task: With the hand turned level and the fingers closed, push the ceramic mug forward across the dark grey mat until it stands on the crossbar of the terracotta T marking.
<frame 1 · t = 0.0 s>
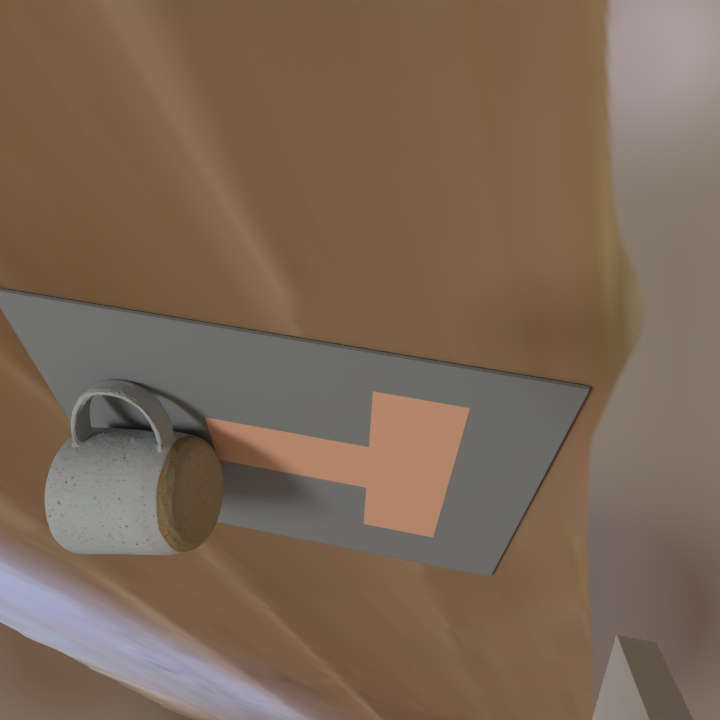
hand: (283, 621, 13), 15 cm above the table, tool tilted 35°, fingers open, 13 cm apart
ceramic mug: (153, 425, 39), resting on t mat
t mat: (290, 458, 39), on the table
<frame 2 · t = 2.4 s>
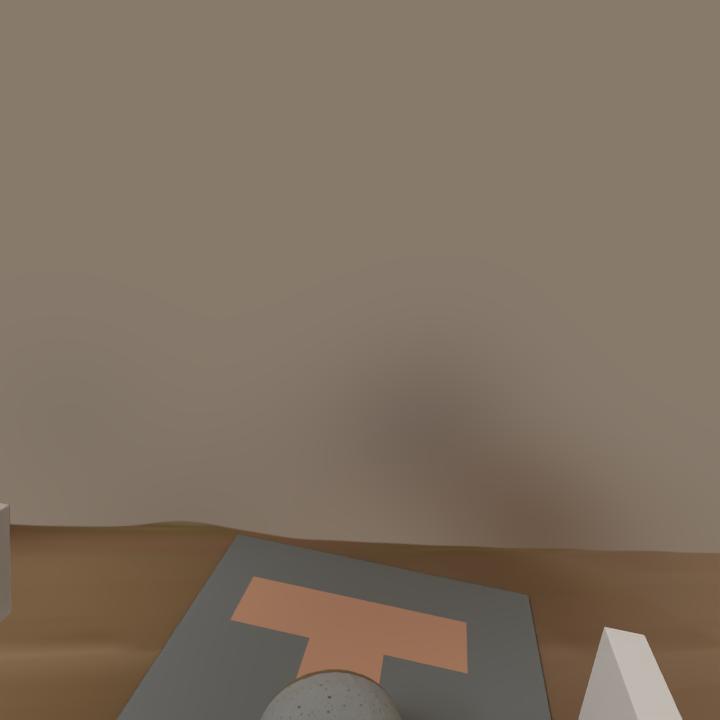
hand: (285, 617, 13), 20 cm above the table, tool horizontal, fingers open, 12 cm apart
t mat: (348, 712, 36), on the table
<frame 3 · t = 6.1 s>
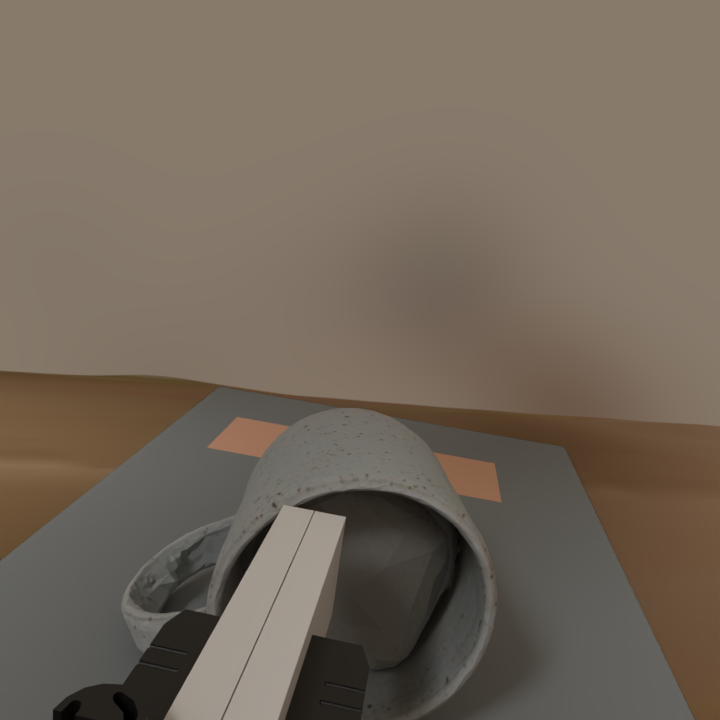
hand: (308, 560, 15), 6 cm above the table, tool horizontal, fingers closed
ceramic mug: (294, 646, 20), resting on t mat
t mat: (354, 528, 28), on the table
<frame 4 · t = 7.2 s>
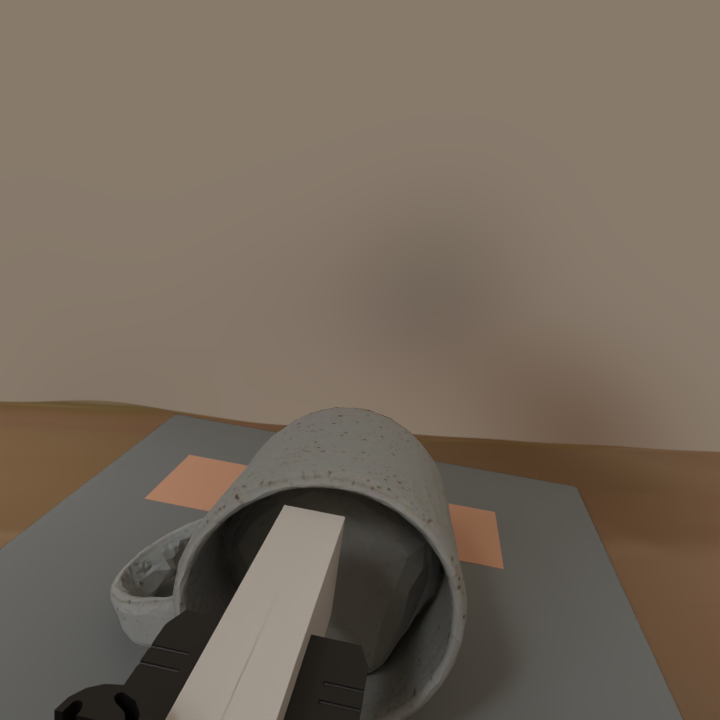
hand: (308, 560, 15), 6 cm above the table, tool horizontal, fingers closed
ceramic mug: (279, 643, 20), resting on t mat, touching gripper
t mat: (317, 615, 22), on the table
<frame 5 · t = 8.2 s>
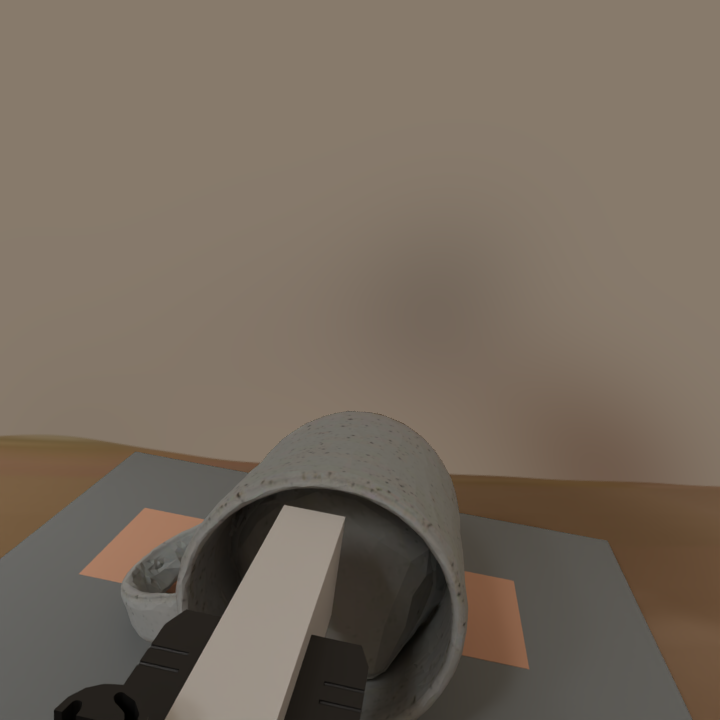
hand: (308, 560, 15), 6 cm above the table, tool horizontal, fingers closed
ceramic mug: (285, 645, 20), resting on t mat, touching gripper
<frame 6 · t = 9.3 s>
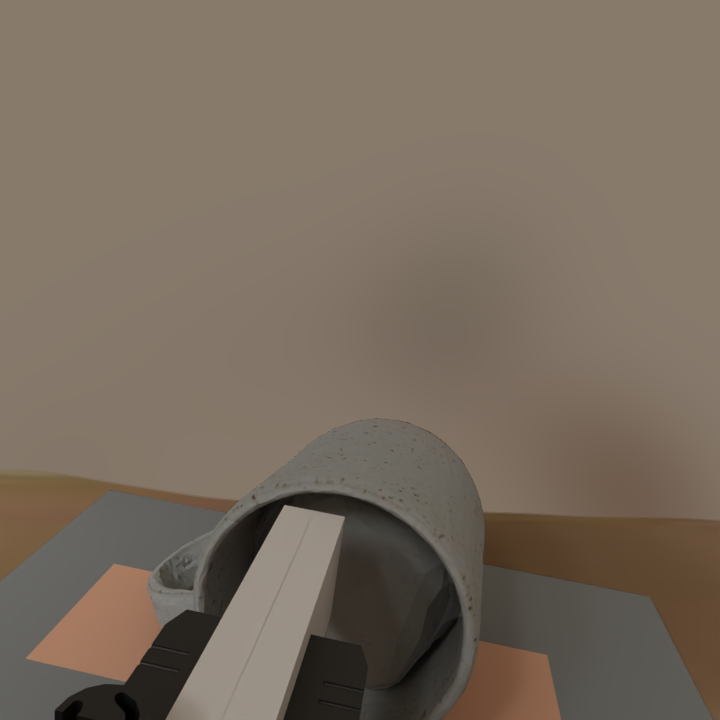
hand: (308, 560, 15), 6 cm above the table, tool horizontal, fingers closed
ceramic mug: (305, 649, 20), resting on t mat
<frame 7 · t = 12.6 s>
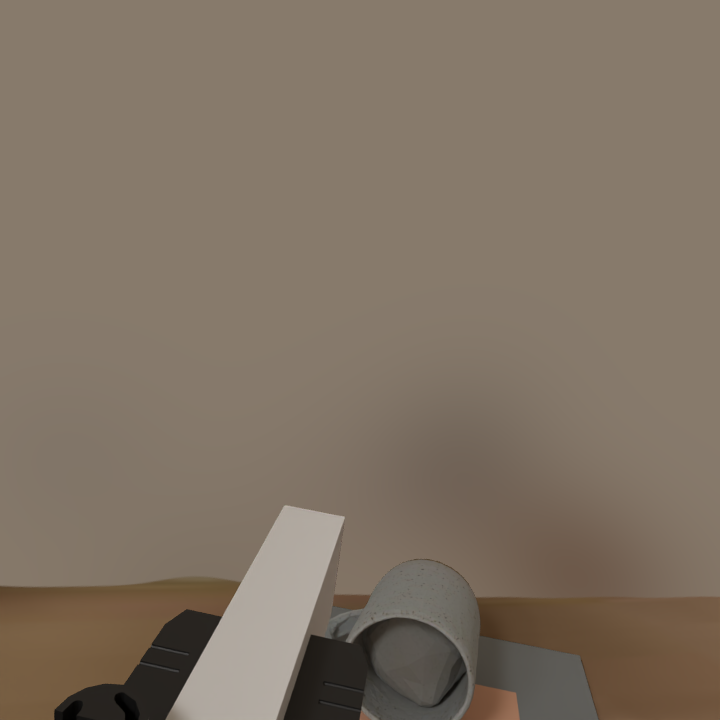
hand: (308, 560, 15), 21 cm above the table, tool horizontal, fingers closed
ceramic mug: (387, 686, 39), resting on t mat
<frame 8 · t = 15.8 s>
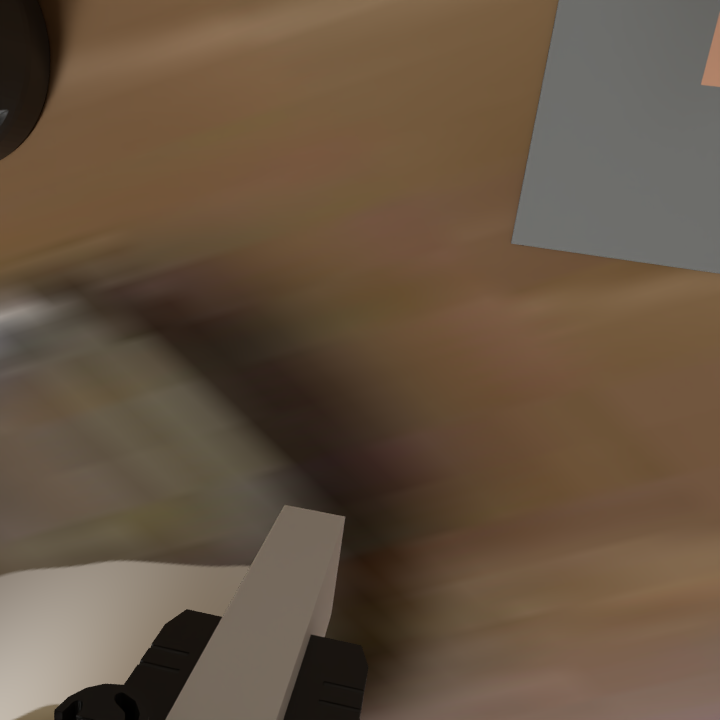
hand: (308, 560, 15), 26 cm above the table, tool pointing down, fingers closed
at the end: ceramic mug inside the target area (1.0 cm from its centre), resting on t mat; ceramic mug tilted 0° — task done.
